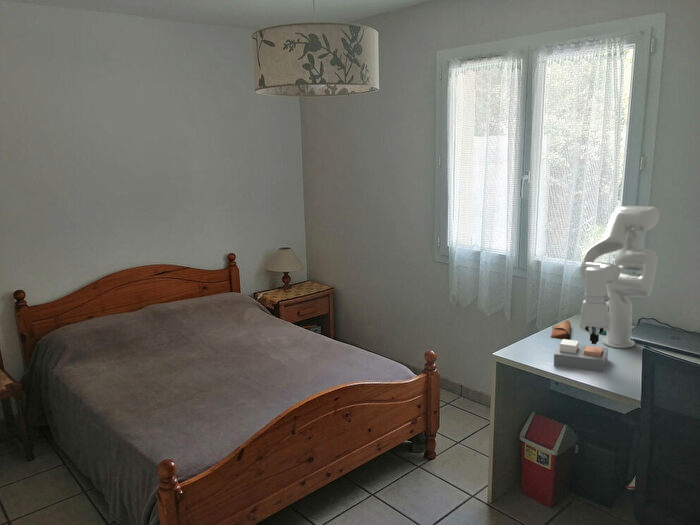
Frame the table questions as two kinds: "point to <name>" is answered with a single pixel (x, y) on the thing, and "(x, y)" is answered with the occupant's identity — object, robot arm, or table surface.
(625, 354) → the table surface
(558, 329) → the sunglasses case
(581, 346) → the key console
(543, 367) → the table surface
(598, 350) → the orange square block
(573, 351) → the offwhite key
